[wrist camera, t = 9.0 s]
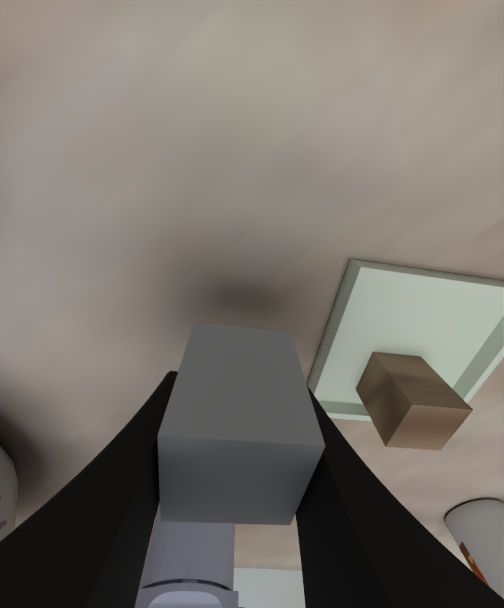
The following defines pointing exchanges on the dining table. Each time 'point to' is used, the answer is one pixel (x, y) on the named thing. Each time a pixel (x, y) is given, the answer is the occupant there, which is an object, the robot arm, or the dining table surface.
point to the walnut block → (410, 402)
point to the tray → (408, 330)
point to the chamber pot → (7, 494)
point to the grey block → (237, 430)
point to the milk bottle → (481, 539)
